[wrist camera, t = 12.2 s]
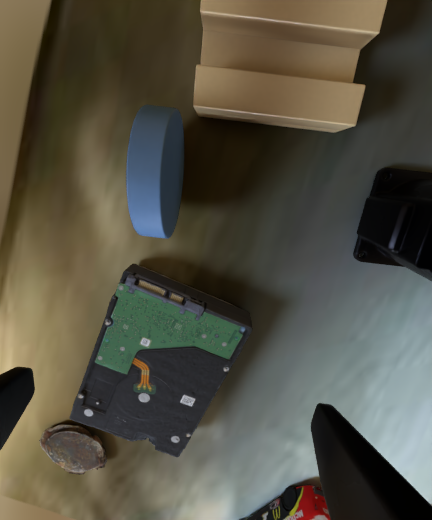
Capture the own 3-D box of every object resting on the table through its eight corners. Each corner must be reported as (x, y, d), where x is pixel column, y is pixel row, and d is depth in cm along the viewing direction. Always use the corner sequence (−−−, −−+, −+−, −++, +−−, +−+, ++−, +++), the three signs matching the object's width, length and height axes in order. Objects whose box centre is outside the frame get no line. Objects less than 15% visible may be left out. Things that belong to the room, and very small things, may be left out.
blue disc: (179, 228, 20) (156, 251, 13) (157, 225, 20) (124, 247, 13) (187, 123, 18) (165, 88, 11) (163, 120, 18) (127, 84, 11)
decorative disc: (83, 413, 26) (78, 422, 25) (119, 456, 28) (116, 466, 27) (30, 433, 27) (23, 443, 26) (68, 474, 29) (63, 484, 28)
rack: (385, -82, 14) (424, -144, 12) (335, 132, 18) (356, 126, 15) (216, -103, 14) (213, -170, 11) (197, 116, 18) (192, 106, 15)
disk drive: (185, 430, 27) (252, 308, 22) (181, 459, 24) (255, 328, 19) (83, 394, 26) (130, 259, 21) (67, 421, 23) (116, 273, 18)
